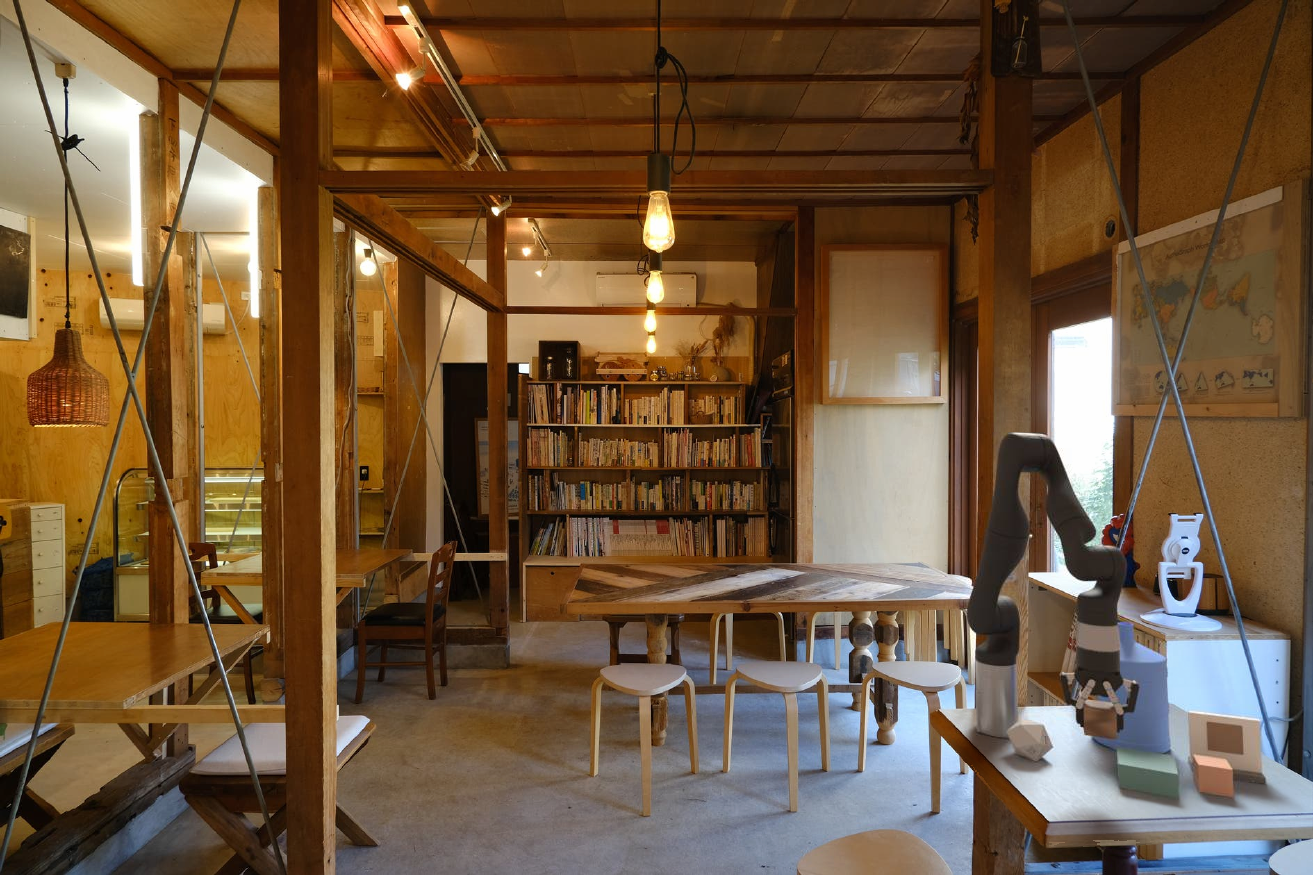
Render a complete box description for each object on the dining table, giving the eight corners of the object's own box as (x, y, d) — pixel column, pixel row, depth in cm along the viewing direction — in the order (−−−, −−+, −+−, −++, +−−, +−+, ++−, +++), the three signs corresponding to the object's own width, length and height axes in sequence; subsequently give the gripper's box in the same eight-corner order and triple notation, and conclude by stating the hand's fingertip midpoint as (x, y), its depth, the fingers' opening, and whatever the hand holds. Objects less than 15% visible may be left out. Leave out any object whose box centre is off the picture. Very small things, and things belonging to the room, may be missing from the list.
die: (1017, 766, 158) (1046, 736, 155) (992, 734, 165) (1019, 705, 162) (1039, 772, 161) (1068, 743, 158) (1014, 740, 168) (1040, 712, 166)
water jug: (1186, 749, 163) (1181, 627, 164) (1140, 761, 158) (1135, 634, 158) (1120, 726, 178) (1116, 613, 179) (1076, 736, 172) (1072, 620, 173)
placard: (1193, 772, 152) (1191, 715, 152) (1188, 761, 157) (1186, 707, 157) (1265, 783, 146) (1263, 724, 146) (1257, 772, 151) (1255, 715, 152)
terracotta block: (1199, 791, 143) (1198, 764, 143) (1193, 780, 148) (1192, 754, 148) (1233, 797, 141) (1232, 769, 141) (1226, 786, 146) (1225, 758, 146)
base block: (1119, 788, 146) (1118, 763, 146) (1117, 769, 154) (1116, 746, 155) (1179, 799, 141) (1178, 774, 141) (1174, 779, 149) (1173, 755, 149)
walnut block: (1084, 734, 142) (1084, 707, 143) (1082, 725, 147) (1082, 698, 147) (1117, 739, 140) (1116, 711, 140) (1114, 729, 145) (1113, 702, 145)
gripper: (1137, 644, 144) (1139, 728, 144) (1056, 636, 151) (1057, 716, 150) (1142, 654, 137) (1144, 742, 137) (1057, 645, 144) (1059, 729, 144)
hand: (1099, 728), depth 144 cm, fingers closed on walnut block, 5 cm apart
